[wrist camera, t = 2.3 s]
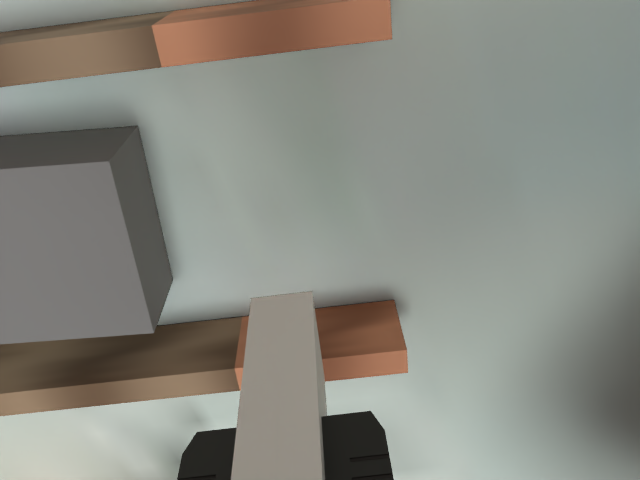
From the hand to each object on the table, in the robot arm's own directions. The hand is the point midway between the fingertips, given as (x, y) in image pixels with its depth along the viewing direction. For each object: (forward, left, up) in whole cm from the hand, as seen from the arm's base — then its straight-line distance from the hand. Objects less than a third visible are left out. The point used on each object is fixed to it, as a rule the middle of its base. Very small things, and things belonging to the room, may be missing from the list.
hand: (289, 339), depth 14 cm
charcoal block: (+9, 0, -10) cm, 14 cm away
